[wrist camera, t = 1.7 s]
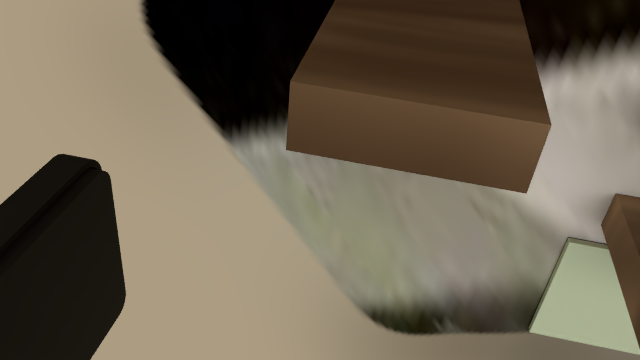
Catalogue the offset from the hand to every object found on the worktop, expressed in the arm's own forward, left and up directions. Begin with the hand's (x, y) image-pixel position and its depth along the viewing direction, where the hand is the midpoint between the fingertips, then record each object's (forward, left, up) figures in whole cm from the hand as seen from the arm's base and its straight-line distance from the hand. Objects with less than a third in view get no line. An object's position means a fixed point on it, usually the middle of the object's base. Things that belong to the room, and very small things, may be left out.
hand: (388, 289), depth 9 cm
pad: (+11, +11, -14) cm, 21 cm away
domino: (-1, 0, -14) cm, 14 cm away
